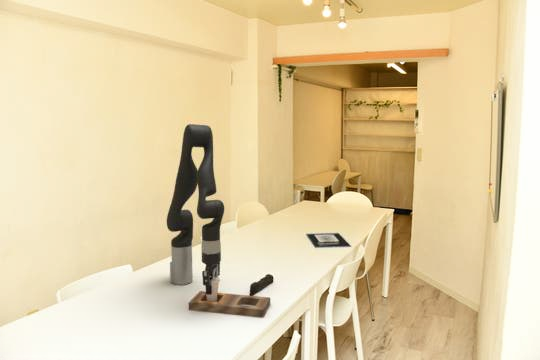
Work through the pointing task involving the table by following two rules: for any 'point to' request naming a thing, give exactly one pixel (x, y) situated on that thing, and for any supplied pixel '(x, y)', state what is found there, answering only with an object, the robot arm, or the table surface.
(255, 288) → the hand tool
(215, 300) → the smoothie
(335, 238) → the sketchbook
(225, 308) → the wooden tray
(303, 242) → the table surface
